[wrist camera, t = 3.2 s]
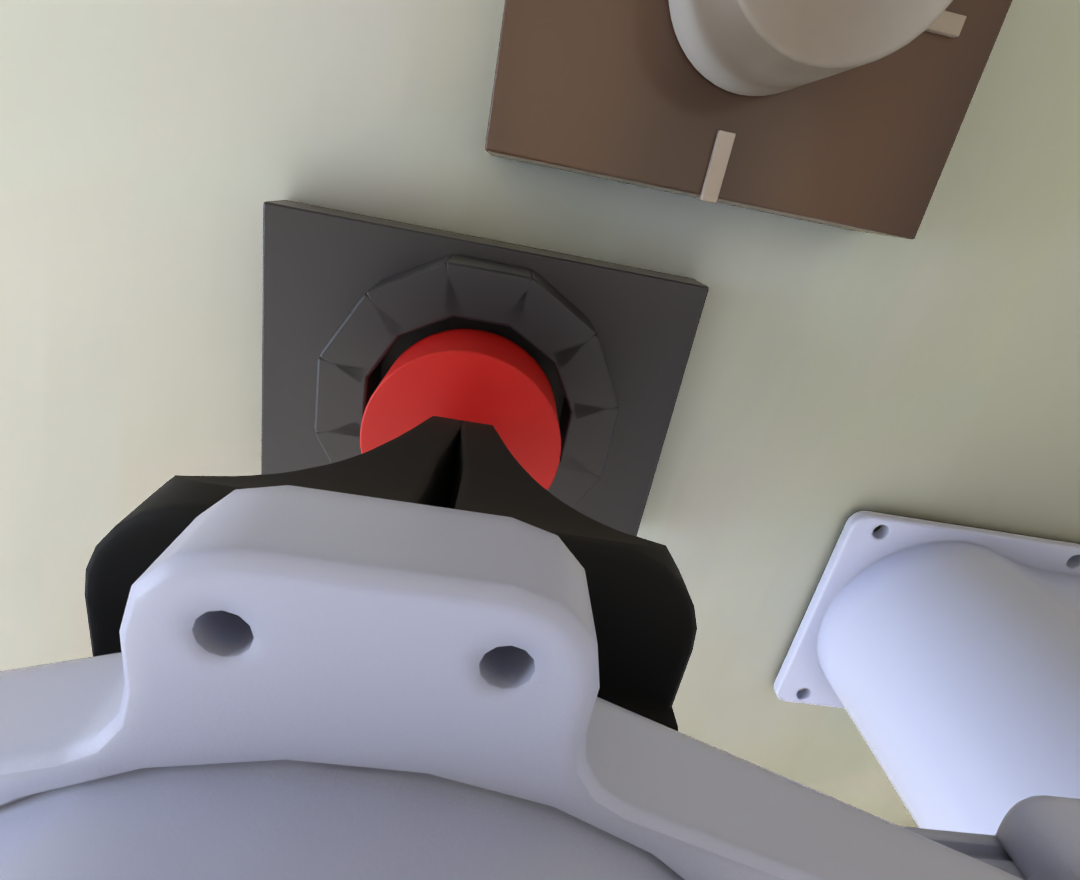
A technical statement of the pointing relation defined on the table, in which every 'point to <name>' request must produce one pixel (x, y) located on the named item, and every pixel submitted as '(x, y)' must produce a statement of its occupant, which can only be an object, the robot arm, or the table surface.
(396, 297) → the switch box
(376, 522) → the robot arm
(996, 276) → the table surface
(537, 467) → the button
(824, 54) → the dimmer knob
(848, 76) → the dimmer panel
